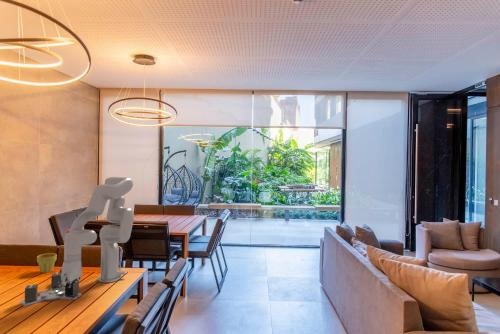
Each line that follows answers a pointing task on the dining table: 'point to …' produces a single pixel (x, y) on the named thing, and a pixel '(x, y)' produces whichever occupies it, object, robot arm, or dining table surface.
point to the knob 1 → (31, 293)
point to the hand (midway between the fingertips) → (71, 292)
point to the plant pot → (46, 262)
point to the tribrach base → (51, 296)
